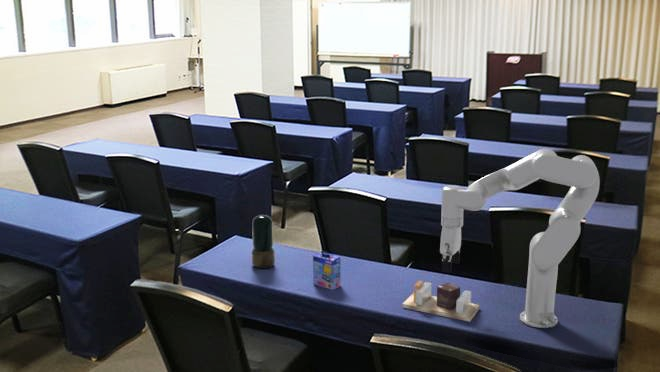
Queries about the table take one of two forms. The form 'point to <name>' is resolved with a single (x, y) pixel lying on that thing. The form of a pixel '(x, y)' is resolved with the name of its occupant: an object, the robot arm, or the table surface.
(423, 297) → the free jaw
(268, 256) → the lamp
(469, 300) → the fixed jaw
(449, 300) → the box
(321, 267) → the ink cartridge box
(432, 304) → the vise base
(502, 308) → the table surface
